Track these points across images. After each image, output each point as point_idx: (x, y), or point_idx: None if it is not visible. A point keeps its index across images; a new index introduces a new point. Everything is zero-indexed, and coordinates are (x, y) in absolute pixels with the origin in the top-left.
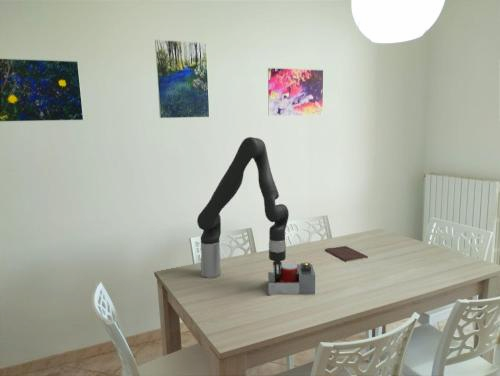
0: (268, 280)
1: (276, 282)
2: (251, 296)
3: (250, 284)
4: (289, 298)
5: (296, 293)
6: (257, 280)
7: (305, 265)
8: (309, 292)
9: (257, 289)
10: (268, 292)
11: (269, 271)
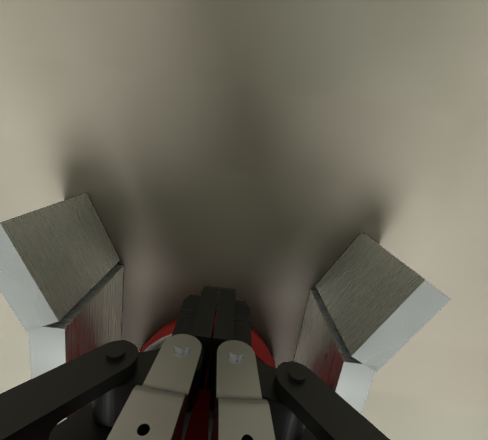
0: (367, 239)
1: (53, 332)
2: (43, 4)
3: (354, 30)
4: (20, 344)
5: None
6: (435, 128)
7: None
8: None
9: (212, 98)
10: (72, 198)
11: (442, 300)
